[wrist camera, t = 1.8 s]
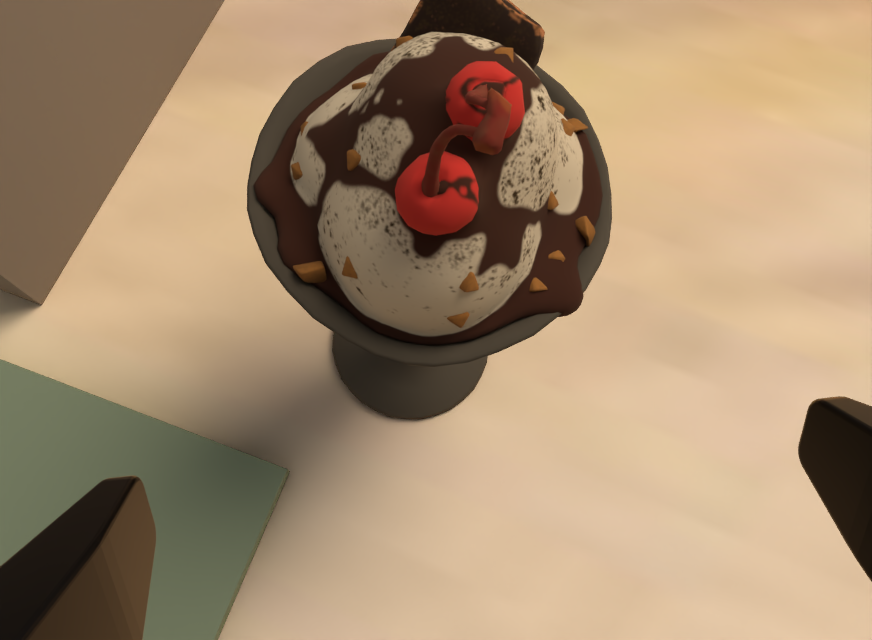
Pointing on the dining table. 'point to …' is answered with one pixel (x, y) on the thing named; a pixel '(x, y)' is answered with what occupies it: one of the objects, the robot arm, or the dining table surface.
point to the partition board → (77, 116)
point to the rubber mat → (164, 484)
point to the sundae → (431, 201)
